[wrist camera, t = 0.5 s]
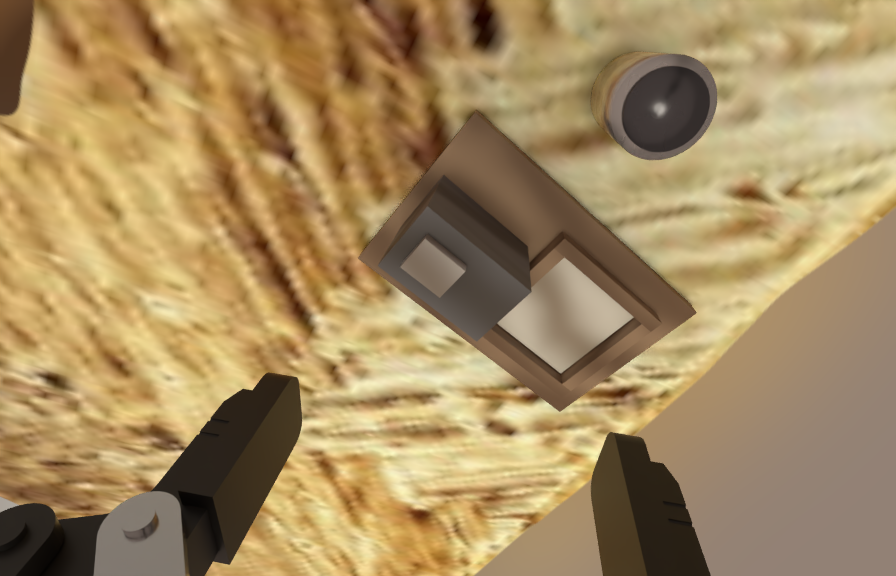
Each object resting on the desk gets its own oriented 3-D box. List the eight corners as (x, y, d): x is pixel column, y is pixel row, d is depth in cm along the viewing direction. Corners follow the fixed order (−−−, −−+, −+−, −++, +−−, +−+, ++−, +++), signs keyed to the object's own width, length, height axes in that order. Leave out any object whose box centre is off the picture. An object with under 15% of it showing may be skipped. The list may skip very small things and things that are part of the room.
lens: (636, 32, 28) (675, 29, 21) (690, 90, 29) (743, 104, 22) (574, 100, 30) (592, 117, 23) (626, 152, 31) (658, 181, 24)
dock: (476, 109, 31) (464, 133, 23) (691, 305, 35) (742, 379, 28) (362, 252, 37) (321, 309, 29) (558, 402, 42) (569, 486, 34)
